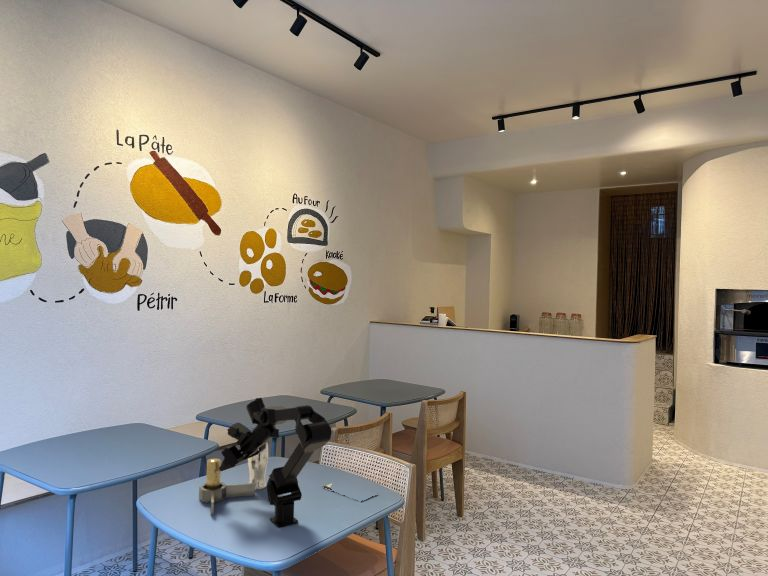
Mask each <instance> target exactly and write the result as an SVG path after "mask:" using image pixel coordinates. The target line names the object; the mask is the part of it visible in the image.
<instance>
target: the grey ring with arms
mask: <svg viewBox="0 0 768 576" xmlns="http://www.w3.org/2000/svg"><path fill="white" fill-rule="evenodd" d="M198 489H199V490H198V500H199V499H200V500H201V501H200V500H199V501H200V502H201V503H202V502H205V503H204V504H210V516H214V511H215V510H214V508H215V504H216V503H215V502H217V503H221V502H223V501H224V500H225V499H229V498H228V497H230V498H239V497H240V498H241V497H252V496H256V490H255V483H249V482H248V483H247V482H246V483H235V484H233V483H232V484H225V482H221V481H220V488H219V489H214V490H209V489H206V482H205V483H202V485H200V486H199V487H198ZM220 501H221V502H220Z"/></svg>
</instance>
